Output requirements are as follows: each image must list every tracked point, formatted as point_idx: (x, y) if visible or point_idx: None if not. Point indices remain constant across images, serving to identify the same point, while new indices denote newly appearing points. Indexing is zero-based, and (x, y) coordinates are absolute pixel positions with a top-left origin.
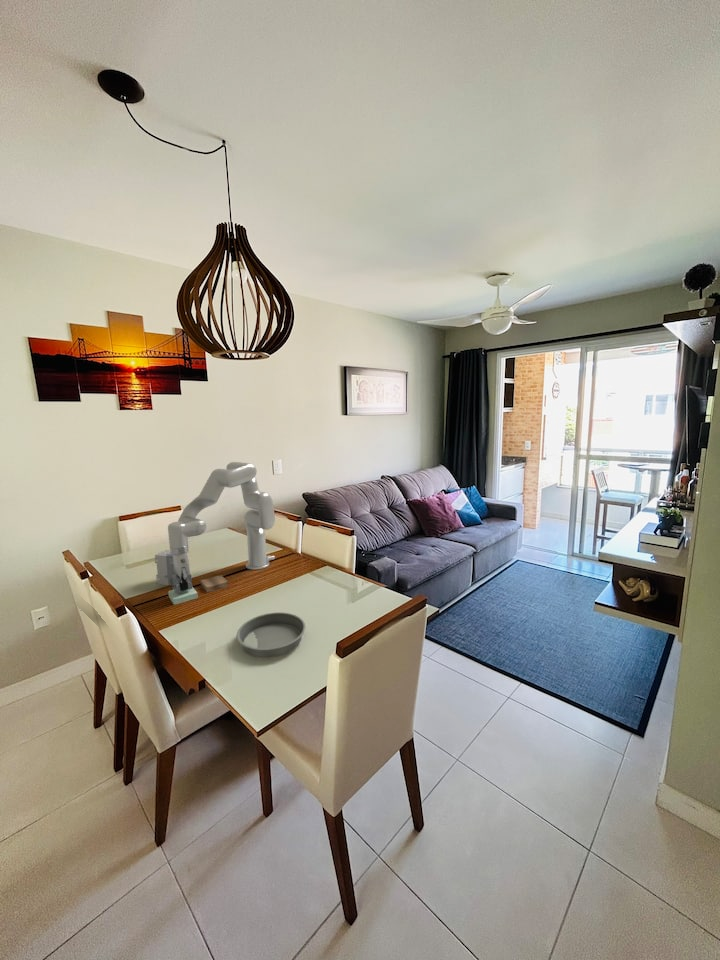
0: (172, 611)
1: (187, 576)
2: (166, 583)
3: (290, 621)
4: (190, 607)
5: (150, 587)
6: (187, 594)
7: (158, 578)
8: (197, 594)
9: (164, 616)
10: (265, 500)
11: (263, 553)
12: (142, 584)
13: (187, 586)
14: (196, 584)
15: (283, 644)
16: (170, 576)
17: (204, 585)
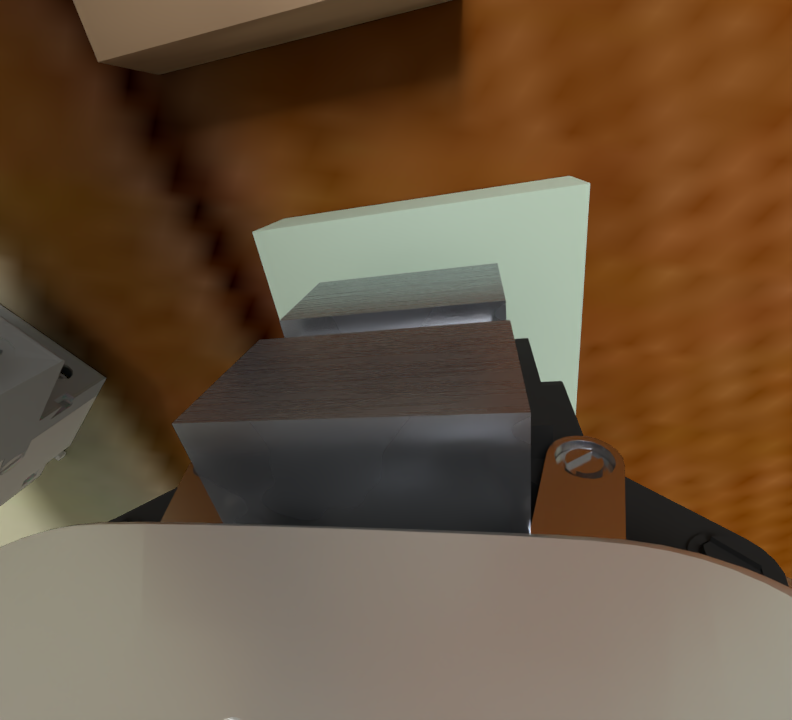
0: (700, 457)
1: (530, 492)
2: (79, 414)
3: None
4: (779, 302)
5: (122, 495)
6: (542, 324)
7: (20, 483)
8: (581, 182)
9: (743, 517)
10: None
11: None
12: (65, 519)
13: (531, 366)
14: (124, 134)
15: None
16: (18, 436)
17: (315, 7)
